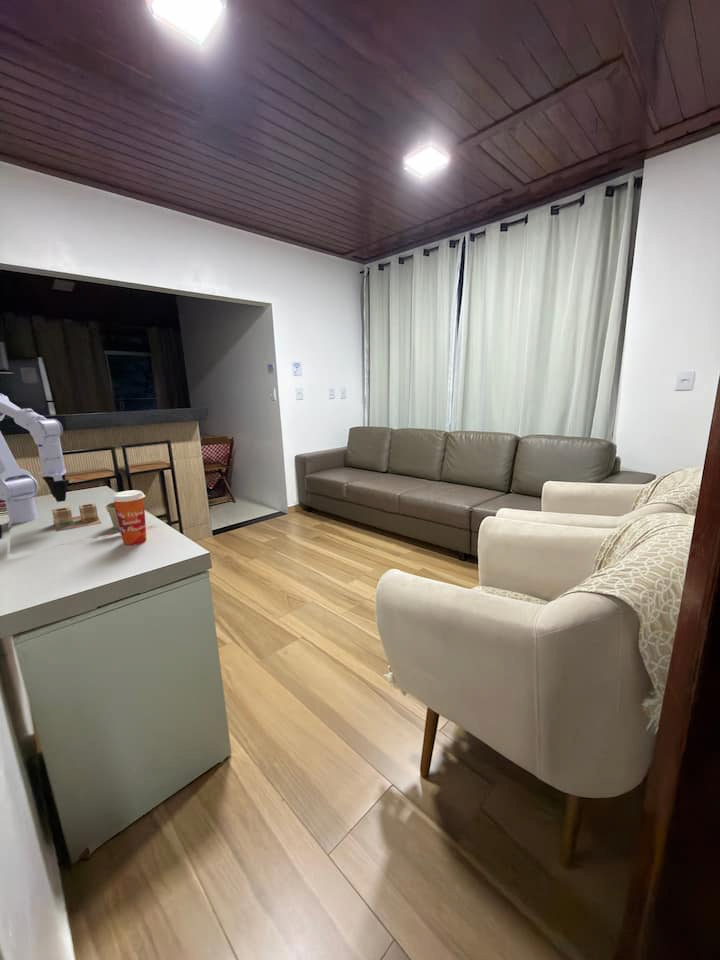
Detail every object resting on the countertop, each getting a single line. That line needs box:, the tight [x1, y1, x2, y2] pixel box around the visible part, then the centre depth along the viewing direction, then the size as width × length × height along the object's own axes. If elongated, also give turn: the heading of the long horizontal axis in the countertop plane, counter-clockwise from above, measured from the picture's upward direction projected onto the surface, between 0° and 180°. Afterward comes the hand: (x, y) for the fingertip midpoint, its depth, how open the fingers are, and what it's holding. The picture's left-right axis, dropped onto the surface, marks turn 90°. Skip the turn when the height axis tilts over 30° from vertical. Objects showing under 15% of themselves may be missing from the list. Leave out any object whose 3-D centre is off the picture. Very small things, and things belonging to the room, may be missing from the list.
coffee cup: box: [111, 489, 147, 546], centre depth 111 cm, size 8×8×15 cm
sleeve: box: [51, 506, 73, 527], centre depth 123 cm, size 4×4×5 cm
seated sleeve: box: [78, 502, 99, 522], centre depth 128 cm, size 4×4×5 cm
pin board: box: [53, 515, 102, 533], centre depth 126 cm, size 14×12×5 cm
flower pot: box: [104, 501, 121, 533], centre depth 122 cm, size 9×9×9 cm
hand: (59, 499), depth 122 cm, fingers open, 7 cm apart
